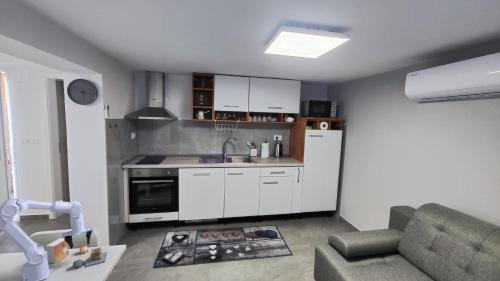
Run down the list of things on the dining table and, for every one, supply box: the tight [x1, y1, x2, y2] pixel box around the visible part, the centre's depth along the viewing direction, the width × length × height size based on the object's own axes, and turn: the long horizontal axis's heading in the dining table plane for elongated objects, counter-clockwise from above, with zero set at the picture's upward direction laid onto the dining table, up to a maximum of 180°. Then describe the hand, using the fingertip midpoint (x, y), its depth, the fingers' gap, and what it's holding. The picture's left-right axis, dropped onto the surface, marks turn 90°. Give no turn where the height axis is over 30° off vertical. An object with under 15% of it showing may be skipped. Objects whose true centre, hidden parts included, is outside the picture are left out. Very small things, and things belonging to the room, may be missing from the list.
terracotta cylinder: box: [79, 245, 89, 255], centre depth 135 cm, size 4×4×3 cm
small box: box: [45, 237, 70, 264], centre depth 129 cm, size 8×6×10 cm
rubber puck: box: [72, 259, 83, 270], centre depth 122 cm, size 4×4×3 cm
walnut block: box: [89, 247, 103, 262], centre depth 128 cm, size 4×4×5 cm
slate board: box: [85, 251, 108, 268], centre depth 128 cm, size 9×9×1 cm
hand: (80, 245), depth 126 cm, fingers open, 7 cm apart
